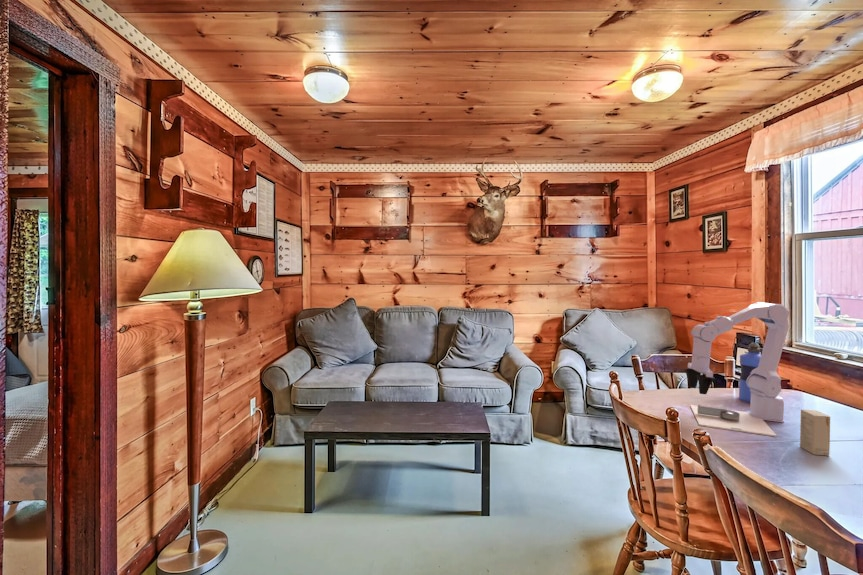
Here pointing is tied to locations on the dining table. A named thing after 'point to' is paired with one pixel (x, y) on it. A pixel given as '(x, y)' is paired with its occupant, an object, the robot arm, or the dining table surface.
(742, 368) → the water bottle
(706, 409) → the twist lock
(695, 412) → the base
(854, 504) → the dining table surface
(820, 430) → the skincare box
